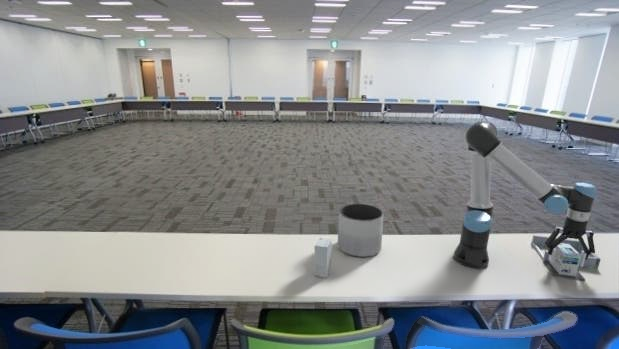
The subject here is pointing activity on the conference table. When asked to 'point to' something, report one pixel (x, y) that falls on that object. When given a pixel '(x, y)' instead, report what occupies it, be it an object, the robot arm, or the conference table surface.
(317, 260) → the skincare box
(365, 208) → the planter
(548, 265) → the mat
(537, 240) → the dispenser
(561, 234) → the robot arm
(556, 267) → the light bulb box
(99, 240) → the conference table surface
